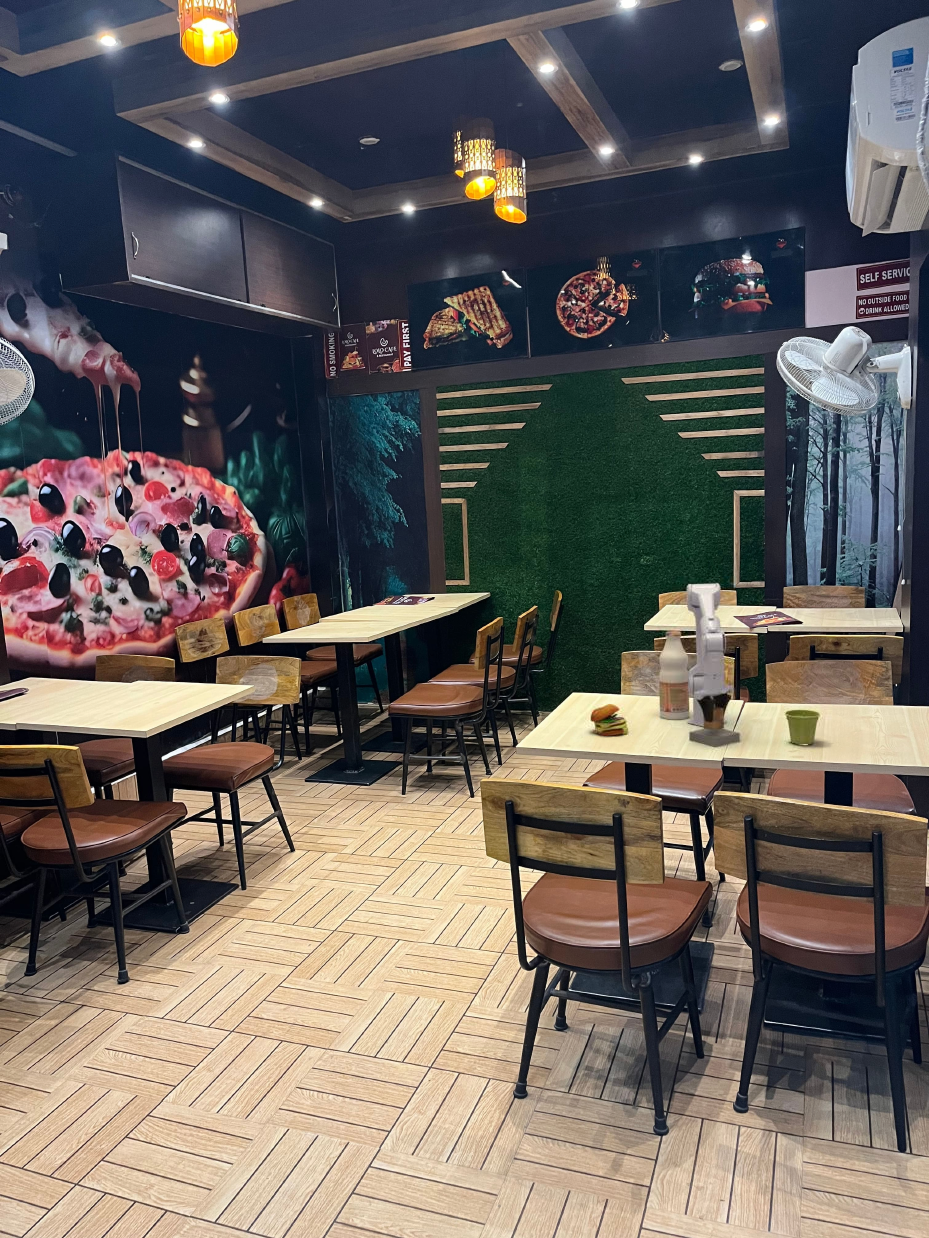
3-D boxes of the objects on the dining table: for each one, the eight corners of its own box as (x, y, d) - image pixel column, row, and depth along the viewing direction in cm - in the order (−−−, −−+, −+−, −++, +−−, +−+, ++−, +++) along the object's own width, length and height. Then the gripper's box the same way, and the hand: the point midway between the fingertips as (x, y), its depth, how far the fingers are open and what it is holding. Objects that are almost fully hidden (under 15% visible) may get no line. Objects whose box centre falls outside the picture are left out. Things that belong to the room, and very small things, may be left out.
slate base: (713, 736, 268) (713, 726, 268) (739, 742, 259) (739, 732, 259) (689, 741, 263) (689, 731, 263) (715, 748, 254) (715, 738, 254)
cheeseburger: (622, 738, 268) (613, 705, 268) (590, 743, 274) (582, 711, 274) (634, 729, 277) (626, 698, 277) (603, 735, 282) (595, 704, 282)
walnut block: (713, 726, 264) (712, 705, 263) (723, 728, 260) (723, 707, 260) (703, 728, 261) (703, 708, 261) (714, 730, 258) (713, 710, 257)
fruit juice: (654, 717, 293) (652, 632, 290) (670, 712, 299) (669, 629, 296) (678, 721, 286) (677, 634, 283) (695, 716, 293) (693, 631, 289)
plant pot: (823, 747, 249) (823, 716, 248) (787, 747, 251) (788, 716, 250) (816, 738, 259) (816, 709, 258) (782, 738, 260) (782, 709, 259)
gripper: (707, 679, 252) (707, 726, 253) (741, 672, 259) (741, 718, 261) (688, 676, 257) (688, 722, 259) (722, 669, 265) (722, 714, 267)
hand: (714, 720), depth 260 cm, fingers open, 4 cm apart
